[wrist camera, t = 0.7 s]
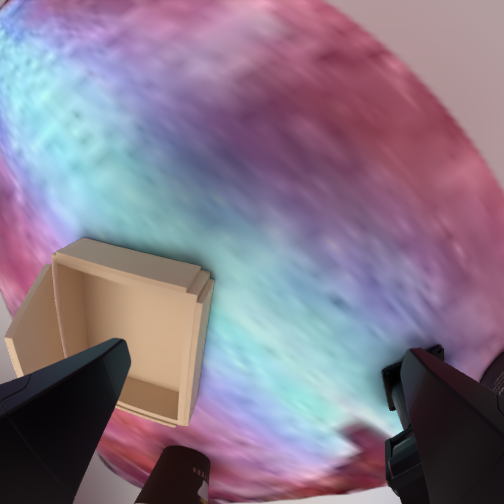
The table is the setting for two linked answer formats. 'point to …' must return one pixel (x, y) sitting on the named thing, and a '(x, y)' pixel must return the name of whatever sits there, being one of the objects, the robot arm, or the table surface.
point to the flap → (35, 328)
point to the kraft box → (137, 321)
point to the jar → (495, 376)
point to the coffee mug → (177, 478)
